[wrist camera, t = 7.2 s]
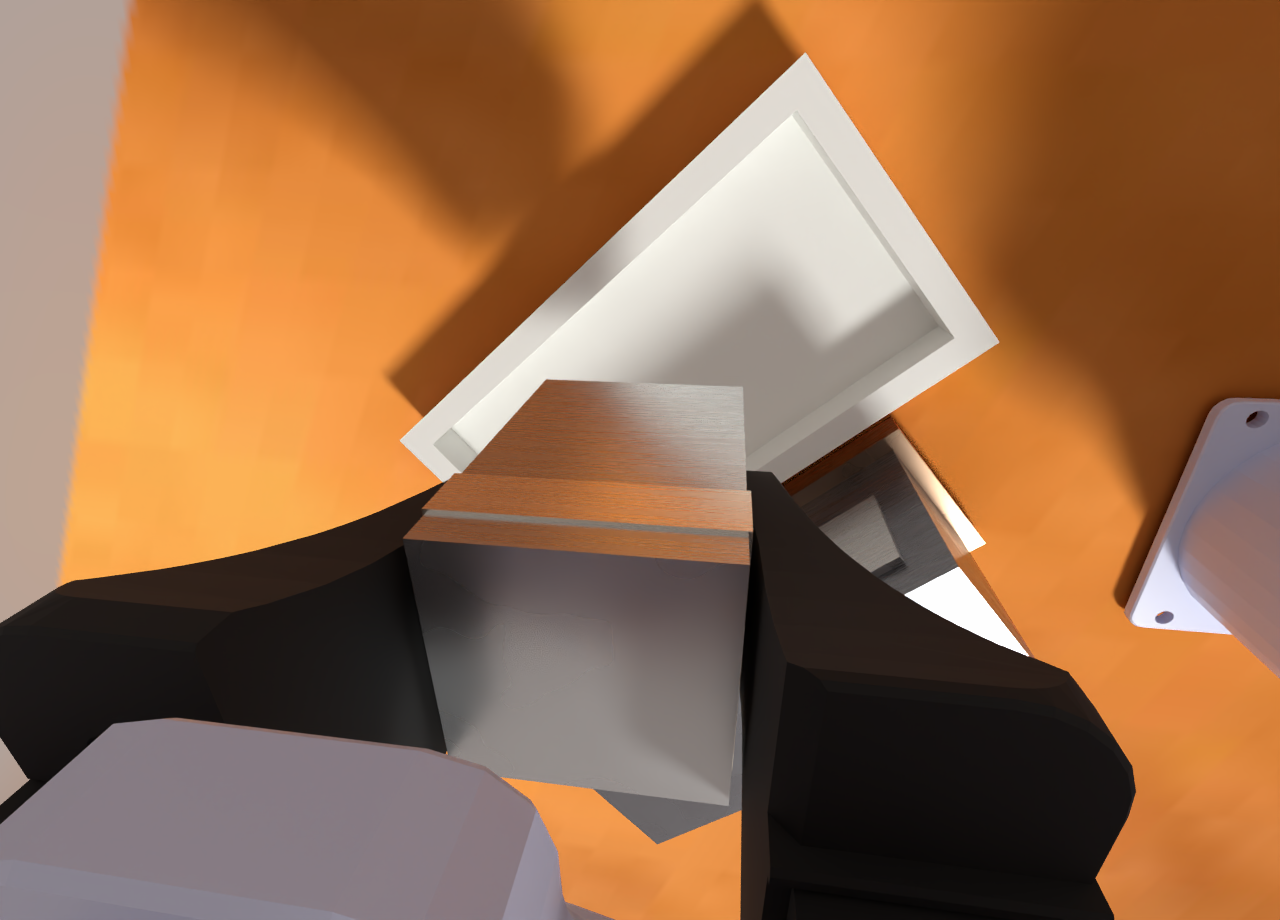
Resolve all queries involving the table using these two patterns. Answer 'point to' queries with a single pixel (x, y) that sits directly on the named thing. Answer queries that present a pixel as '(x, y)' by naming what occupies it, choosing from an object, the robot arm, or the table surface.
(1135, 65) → the table surface
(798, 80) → the tray
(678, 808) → the mounted housing
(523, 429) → the block
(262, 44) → the table surface
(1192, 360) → the table surface
